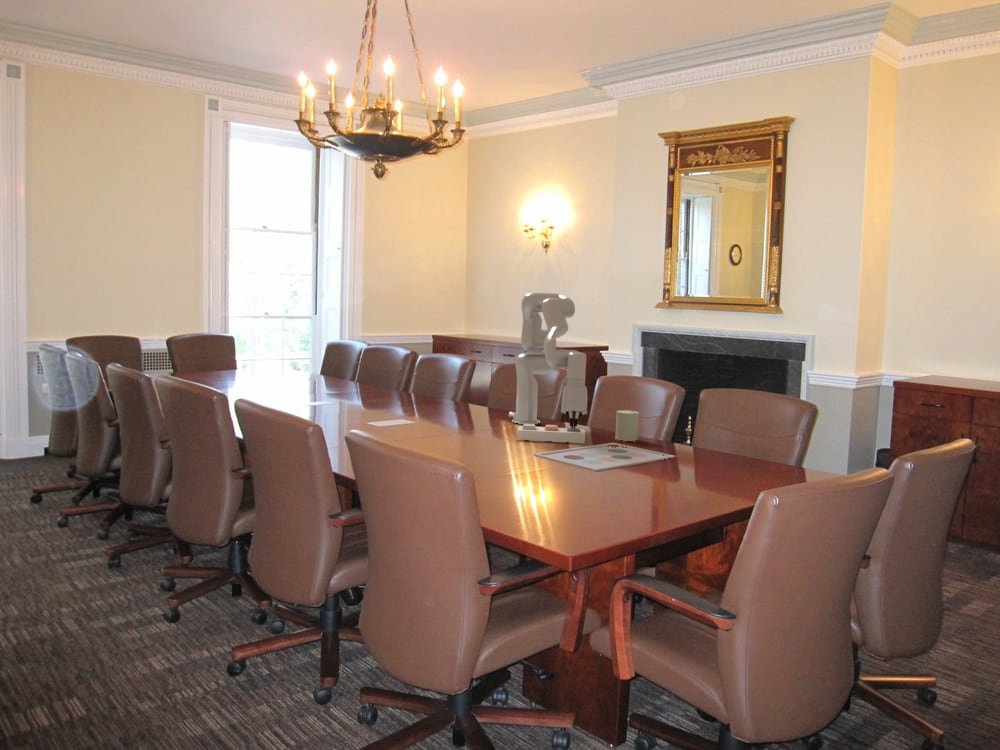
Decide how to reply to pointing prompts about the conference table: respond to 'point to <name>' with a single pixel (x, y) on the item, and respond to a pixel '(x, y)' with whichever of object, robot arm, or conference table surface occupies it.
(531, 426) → the sage button
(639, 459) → the dotted sorting mat
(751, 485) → the conference table surface
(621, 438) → the can
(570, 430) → the charcoal button
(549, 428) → the terracotta button
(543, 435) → the button strip
